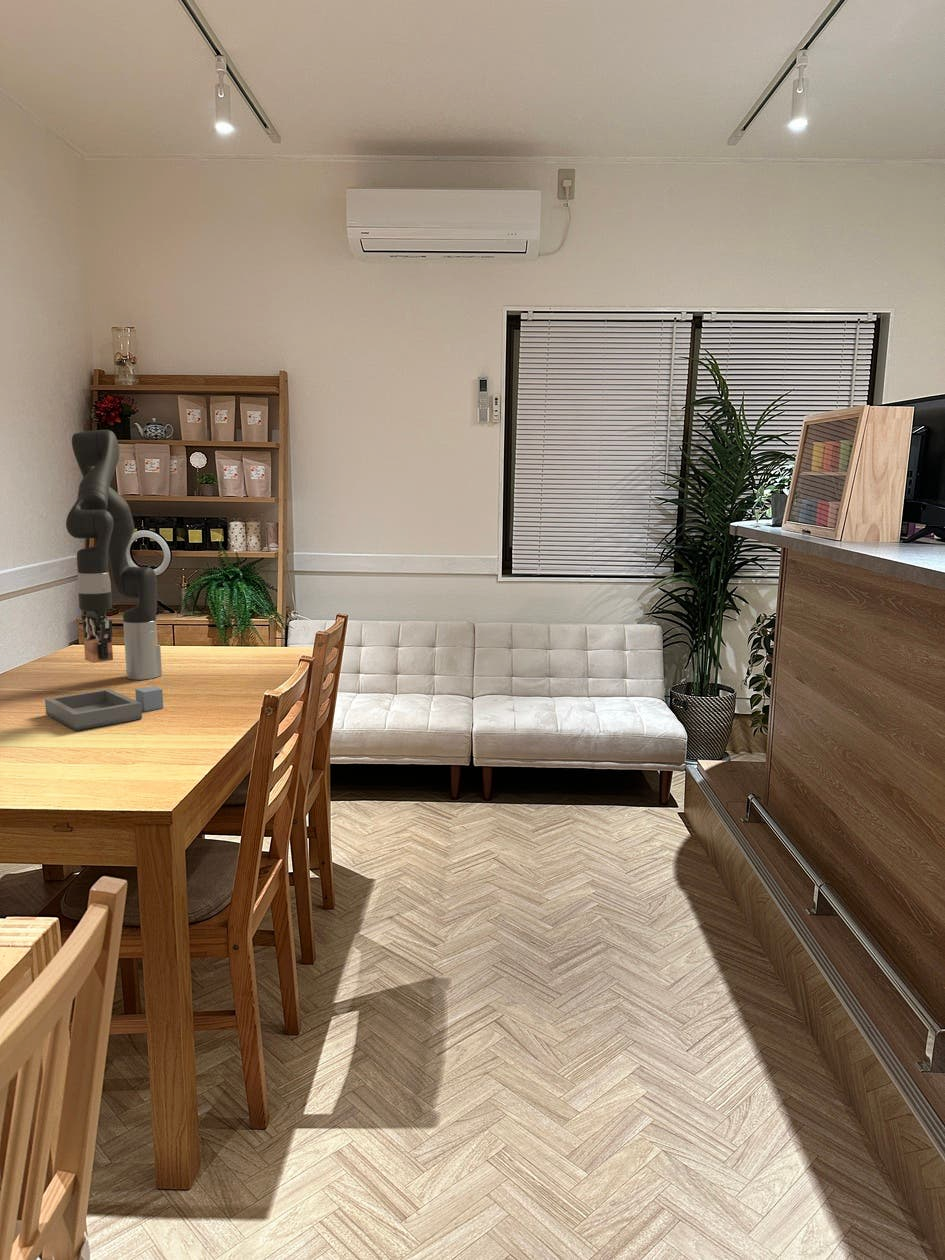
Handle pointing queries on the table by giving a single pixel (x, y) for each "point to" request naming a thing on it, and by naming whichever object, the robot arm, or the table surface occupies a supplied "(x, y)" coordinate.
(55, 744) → the table surface
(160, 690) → the grey block
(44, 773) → the table surface
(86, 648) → the terracotta block
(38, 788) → the table surface
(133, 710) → the charcoal tray
